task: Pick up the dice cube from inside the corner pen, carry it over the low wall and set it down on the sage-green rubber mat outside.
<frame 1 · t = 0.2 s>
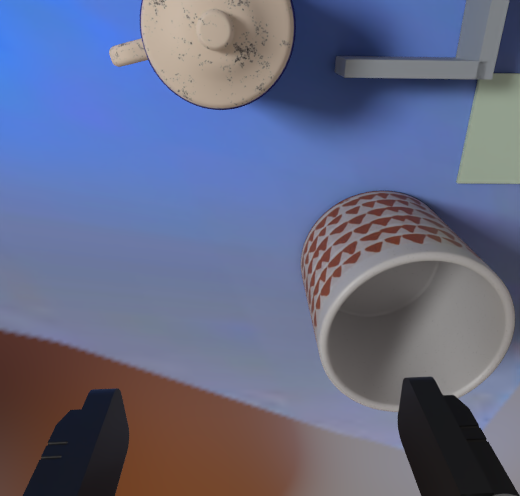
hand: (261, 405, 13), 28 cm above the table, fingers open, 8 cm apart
planter: (371, 256, 44), on the table
teacup with lid: (206, 33, 35), on the table
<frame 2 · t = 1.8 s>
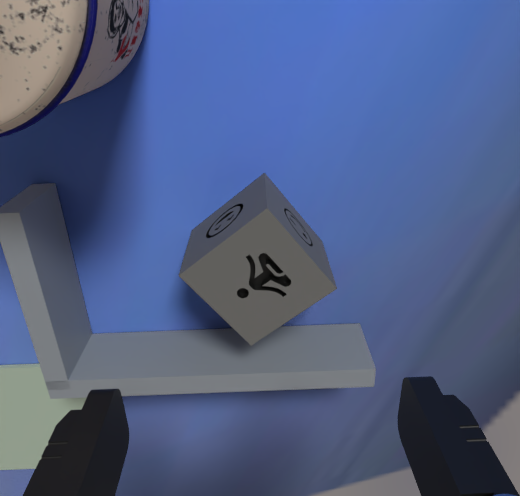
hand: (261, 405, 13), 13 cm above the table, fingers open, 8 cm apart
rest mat: (27, 418, 30), on the table
pen walls: (216, 337, 28), on the table
dice cube: (257, 233, 25), on the table
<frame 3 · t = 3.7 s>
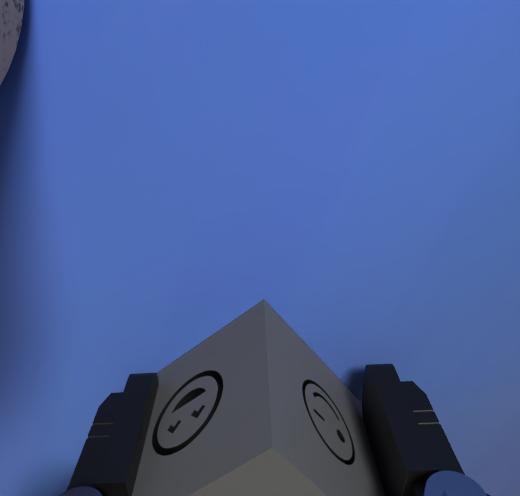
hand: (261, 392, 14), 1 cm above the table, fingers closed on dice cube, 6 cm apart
dice cube: (251, 389, 15), on the table, touching gripper
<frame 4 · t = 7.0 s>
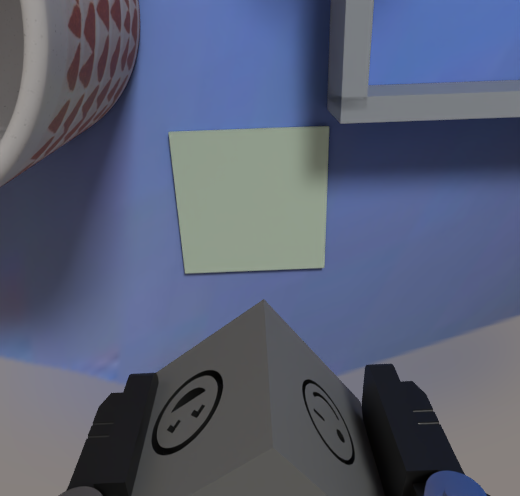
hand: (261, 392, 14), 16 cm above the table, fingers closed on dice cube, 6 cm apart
planter: (6, 6, 23), on the table
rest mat: (252, 203, 28), on the table
pen walls: (482, 92, 25), on the table
dice cube: (250, 389, 15), point 15 cm above the table, touching gripper
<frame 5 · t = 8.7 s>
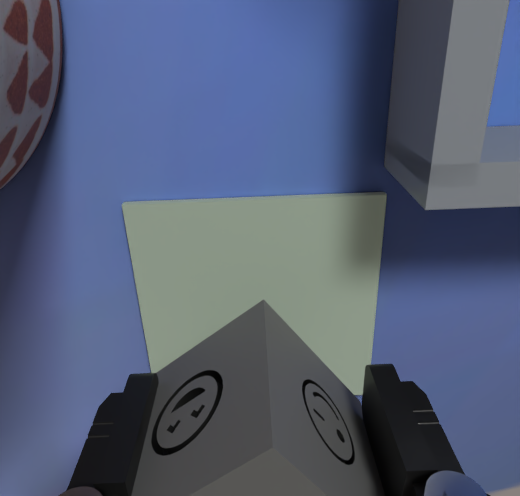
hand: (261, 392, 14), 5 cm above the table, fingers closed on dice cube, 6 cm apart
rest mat: (258, 306, 18), on the table
dice cube: (250, 389, 15), point 4 cm above the table, touching gripper
when the fingers open (2 cm above the table, at t = 10.4 s): dice cube stays where it is, resting on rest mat.
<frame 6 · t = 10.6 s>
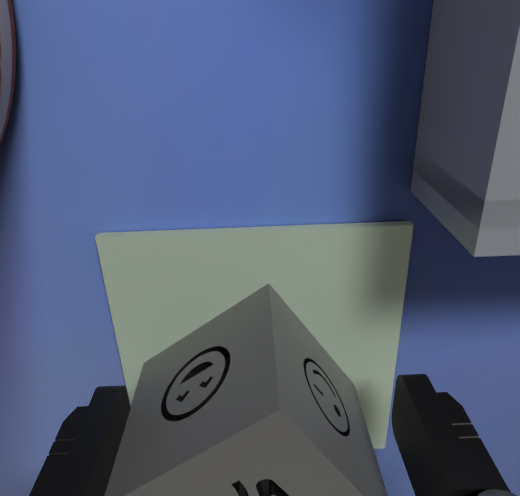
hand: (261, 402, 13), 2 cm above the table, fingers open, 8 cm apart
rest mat: (259, 351, 15), on the table
dice cube: (251, 369, 15), resting on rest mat
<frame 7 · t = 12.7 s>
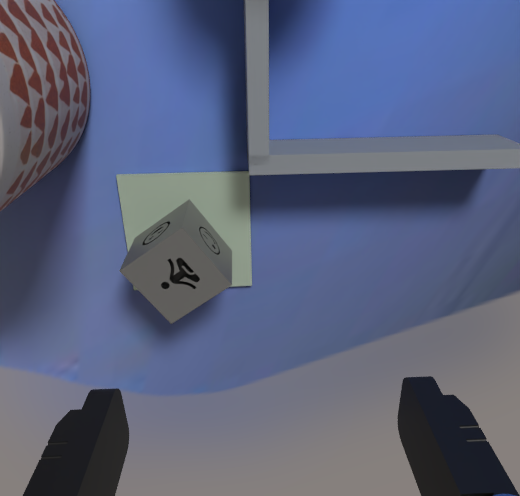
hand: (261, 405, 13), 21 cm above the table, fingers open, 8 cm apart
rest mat: (188, 232, 33), on the table
pen walls: (372, 146, 31), on the table
dice cube: (184, 243, 34), resting on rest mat
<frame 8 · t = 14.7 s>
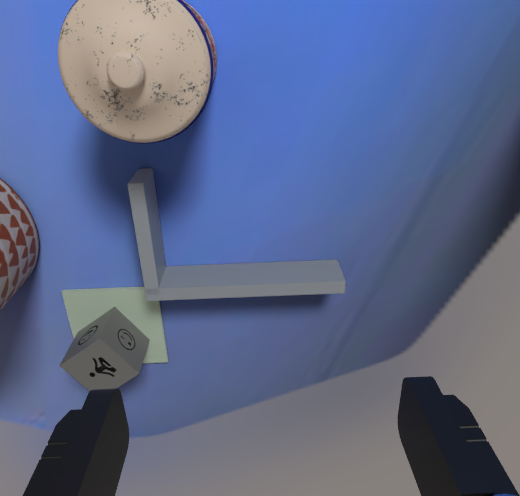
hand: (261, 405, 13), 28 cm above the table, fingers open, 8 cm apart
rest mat: (117, 326, 46), on the table
pen walls: (245, 268, 43), on the table
teacup with lid: (154, 37, 34), on the table
dice cube: (114, 334, 46), resting on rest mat
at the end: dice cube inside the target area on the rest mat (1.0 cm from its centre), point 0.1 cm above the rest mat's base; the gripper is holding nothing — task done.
